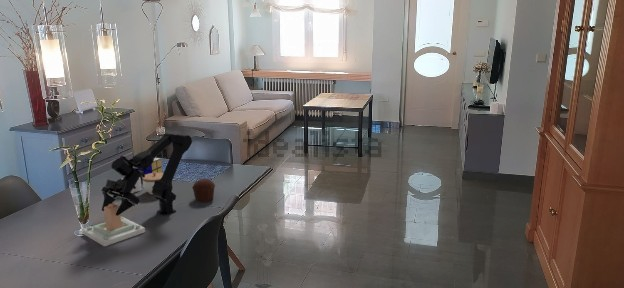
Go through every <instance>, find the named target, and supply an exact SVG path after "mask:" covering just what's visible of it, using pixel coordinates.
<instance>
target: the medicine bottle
mask: <svg viewBox="0 0 624 288" xmlns="http://www.w3.org/2000/svg"><path fill="white" fill-rule="evenodd" d="M141 179H142V178H139V179H138V181H137V183H136V184H135V187H136V188H135V189H132V191H131V192H130V193H132V194H134V193H136V192H140V191H142V181H141Z"/></svg>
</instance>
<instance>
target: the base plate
mask: <svg viewBox="0 0 624 288" xmlns="http://www.w3.org/2000/svg"><path fill="white" fill-rule="evenodd" d="M121 225H122V228H119V229H116V230H112V231H109V230H106V223H105V221H104V222H101V223H99V224H95V225H92V226H91V225H89V226H87V227H86V228H84V229H82V233H83V235H85V236H86V237H88V238H89V239H91V240H93V241H95V242H96V243H98V244H99V245H101V246H102V247H107V246H111V245H113V244H115V243H118V242H121V241H124V240H127V239H130V238H133V237H136V236H138V235H141V234H143V233H146V228H145V227H144V226H142V225H140V224H138V223H136V222H134V221H132V220H130V219H128V218H126V217H124V216H121Z"/></svg>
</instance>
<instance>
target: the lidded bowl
mask: <svg viewBox="0 0 624 288" xmlns="http://www.w3.org/2000/svg"><path fill="white" fill-rule="evenodd" d="M163 173H164V172H162V173H156V172H153V173H150V174H146V175H145V177H142V178H141V179H142V186H143V188H144V190H145V191H146V192H147V193H148V194H149V195H153V193H152V189H153V188H152V187H153V185H154V183H155V181H156V180H158V181H159V180H160V179H161V178H162V176H163ZM153 196H154V195H153Z"/></svg>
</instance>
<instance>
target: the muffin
mask: <svg viewBox="0 0 624 288" xmlns="http://www.w3.org/2000/svg"><path fill="white" fill-rule="evenodd" d="M215 187H216V184H215V183H214V182H213V181H212V179H208V178H200V179H199V180H197V181H195V182H194V184H193V185H192V191H193V193H194V194H193V195H194V199H195V201H197V202H201V203H203V202H209V201H212V200H213V198H214V195H215Z"/></svg>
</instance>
